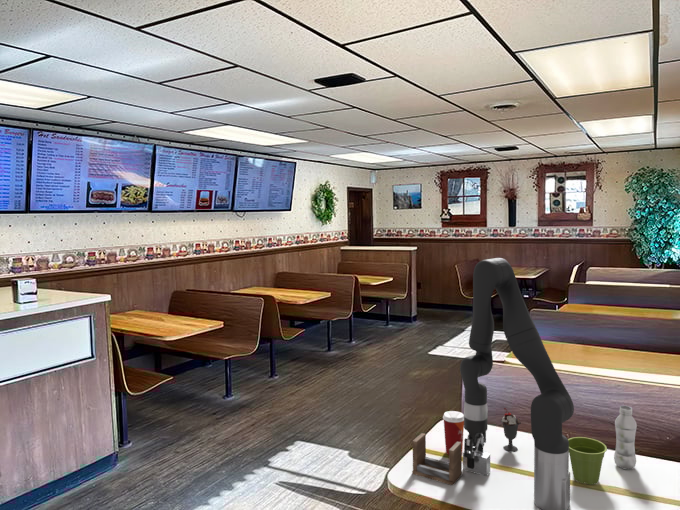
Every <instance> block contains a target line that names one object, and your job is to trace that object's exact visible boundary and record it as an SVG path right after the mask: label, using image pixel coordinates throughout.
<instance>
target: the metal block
mask: <svg viewBox="0 0 680 510" xmlns="http://www.w3.org/2000/svg"><path fill="white" fill-rule="evenodd" d="M469 453H470V451H469ZM462 471H467V472H471V473H474V472H475V474H477V473H478V475H481V476H486V477H488V475H489V473H491V453H488V452H485V451H483V452H481V451H476V452H475V457H474V468H473V469H471V468H468V467H467V457H464V451H462Z"/></svg>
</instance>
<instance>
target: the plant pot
mask: <svg viewBox="0 0 680 510" xmlns="http://www.w3.org/2000/svg"><path fill="white" fill-rule="evenodd" d="M567 439H568V441H569V461H570V465H571V471H572V476H573V479H574V480H575V481H576V482H578V483H581V484H587V485H590V486H591V485H596V484H598V483H599V480H600V476H601V471H602V464H603V461H604V457H605V453H606V452H607V451H608V448H607V447H608V446H607V445H606V444H605V443H603V442H602V441H600V440H598V439H595V438H589V437H584V436H576V437H570V438H567Z"/></svg>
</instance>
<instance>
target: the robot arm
mask: <svg viewBox="0 0 680 510" xmlns="http://www.w3.org/2000/svg"><path fill="white" fill-rule="evenodd" d="M472 287H473V288H472V293H473V294H472V302H473V303H472V320H471V325H470V326H471V327H470V332H469V339H468V346H469V348H470V349H471V350H472V351H475V354H473V355H469V356H466V357H463V359H462V360H461V362H460V365H459V373H460V376H461V380H462V384H463V388H464V404H463V415H464V430H465V431H467V432H468V435H467V438H464V439H463V446H464V447H463V452H464V457H467V467H468V468H471V469H473V468H474V457H475V452H476V451H481V452H484V446H485V444H486V442H487V431H488V418H489V417H488V416H489V415H488V388H487V385H486V384H484V383H482V382H479V380H478V379H479V378H481V377H484V376H487V375H489V374H490V373H491V372H492V369H493V366H494V360H493V359H494V358H493V350H492V349H493V348H492V344H493V338H494V333H495V321H494V317H493V313H492V306H491V301H492V297H493V293H494V290H496V292H497V294H498V297H499V299H500V301H501V305H502V314H503V315H502V328H503V329H502V330H503V334H504V336H505V337H504V338H505V339H506V341H507V343H508V346H509V348H510V350H511V353H512V354H513V355H514V357H515V358H516V359H517V360H518V361H519V362H520V364H522V366H524V368H525V369H526V370H528V372H529V373H530V374H531V375H532V377H533V379H534V380H535V382H536V384H537V387H538V389H539V391H540V394H538V395H537V396H535V397H534V398H533V399H532V401H531V403H530V404H531V405H530V431H531V436H532V439H533V440H534V445H533V446H534V447H533V448H534V450H533V451H534V452H533V453H534V454H533V455H534V458H533V462H534V463H533V466H534V467H533V471H534V472H533V473H534V474H533V501H534V504H535V505H536V507H538V508H539V509H541V510H568V509H569V507H570V504H571V472H570V471H569V468H570V467H569V465H570V464H569V461H570V455H569V441H568V439H569V438H568V437H566V435H564V434H563V423H565V422H566V421H568V420H569V419H571V418H572V417H573V415H574V412H575V406H574V402H573V399H572V397H571V395H570V394H569V391H568V390H567V388H566V387H565V384H564V383H563V381H562V379H561V378H560V376H559V374H558V373H557V371H556V369H555V367H554V365H553V362H552V360H551V357H550V356H549V353H548V351H547V349H546V347H545V345H544V342H543V339H542V337H541V335H540V333H539V331H538V329H537V327H536V325H535V323H534V321H533V319H532V317H531V314H530V312H529V309H528V307H527V305H526V302H525V300H524V297H523V295H522V291H521V290H520V287H519V282H518V280H517V278H516V275H515V272H514V269H513V266H512V265H511V264H510V262H508V260H507V259H505V258H502V257H495V258H487V259H482V260H480V261H479V262H477V263H476V265H475V266H474V269H473V276H472ZM469 451H470V453H469Z"/></svg>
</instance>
